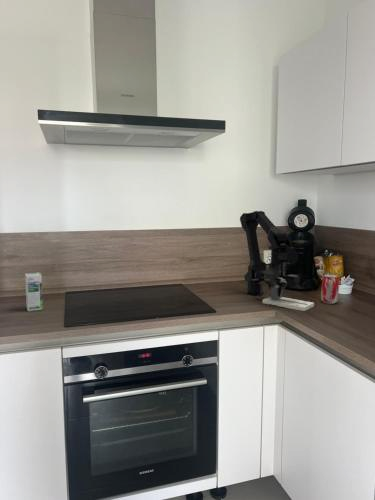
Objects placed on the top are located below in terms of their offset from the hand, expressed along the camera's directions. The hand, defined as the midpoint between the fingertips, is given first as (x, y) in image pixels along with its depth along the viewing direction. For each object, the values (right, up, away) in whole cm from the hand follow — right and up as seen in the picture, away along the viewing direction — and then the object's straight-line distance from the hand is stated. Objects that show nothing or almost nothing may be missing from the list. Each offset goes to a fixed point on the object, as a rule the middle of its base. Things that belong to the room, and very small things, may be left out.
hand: (276, 296), depth 169 cm
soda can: (+24, -3, +1) cm, 24 cm away
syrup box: (-101, -4, -14) cm, 102 cm away
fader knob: (0, -1, 0) cm, 1 cm away
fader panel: (+4, -3, -3) cm, 6 cm away
